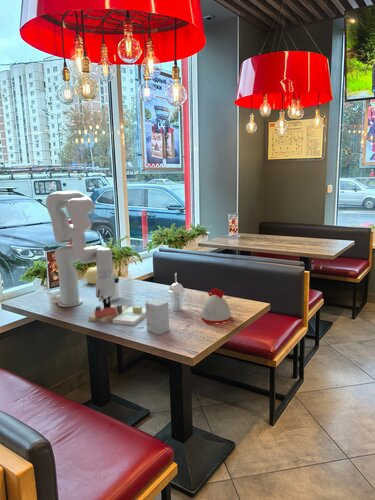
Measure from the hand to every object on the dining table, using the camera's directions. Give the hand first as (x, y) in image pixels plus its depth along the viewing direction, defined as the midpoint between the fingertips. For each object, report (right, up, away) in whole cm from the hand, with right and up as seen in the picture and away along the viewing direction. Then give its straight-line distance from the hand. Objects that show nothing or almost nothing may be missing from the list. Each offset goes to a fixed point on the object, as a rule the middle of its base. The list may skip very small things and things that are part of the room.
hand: (107, 310), depth 189 cm
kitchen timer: (+52, -3, -7) cm, 53 cm away
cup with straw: (+34, -1, +6) cm, 34 cm away
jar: (-3, +2, +28) cm, 29 cm away
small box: (+26, -6, -19) cm, 33 cm away
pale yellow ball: (-20, +8, +61) cm, 65 cm away
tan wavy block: (+1, -3, +1) cm, 3 cm away
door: (+12, -3, -3) cm, 13 cm away
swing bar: (0, -1, -4) cm, 4 cm away
